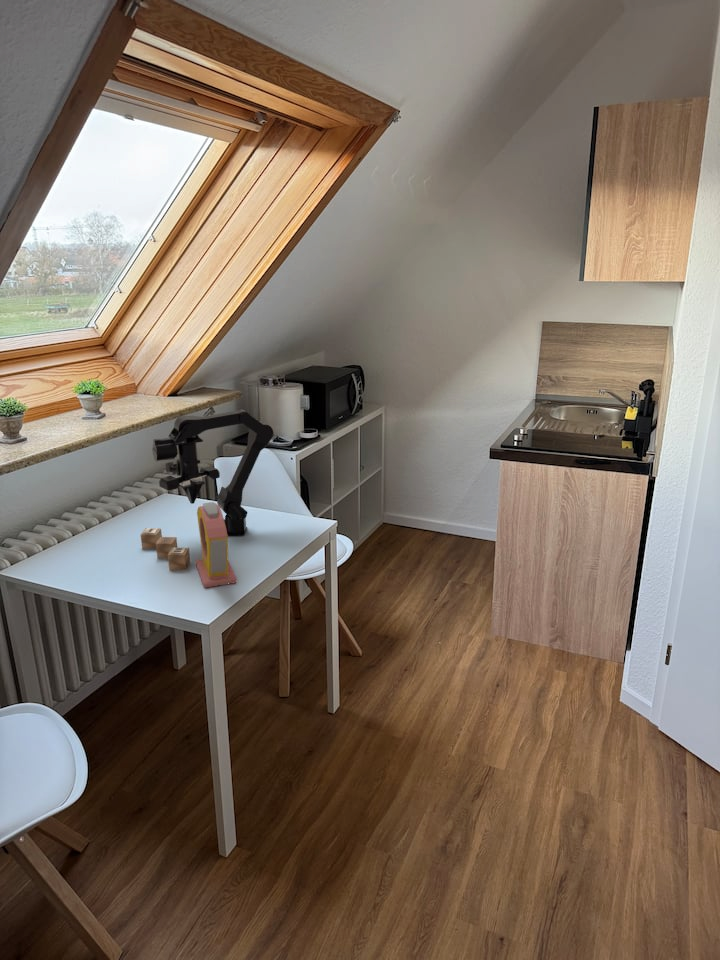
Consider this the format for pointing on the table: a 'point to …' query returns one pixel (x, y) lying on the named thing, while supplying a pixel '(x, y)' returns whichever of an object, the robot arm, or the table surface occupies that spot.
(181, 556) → the numbered block
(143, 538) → the numbered block
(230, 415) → the robot arm
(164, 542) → the plain block
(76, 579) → the table surface
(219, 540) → the pink yellow upright block
